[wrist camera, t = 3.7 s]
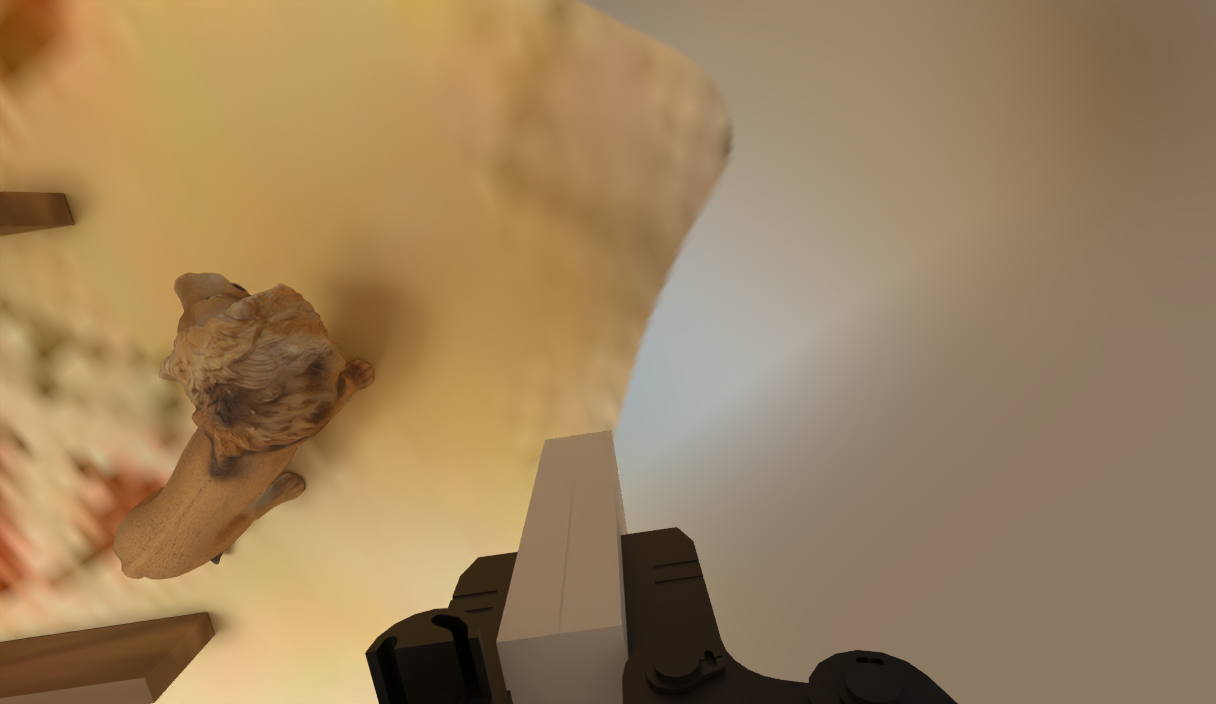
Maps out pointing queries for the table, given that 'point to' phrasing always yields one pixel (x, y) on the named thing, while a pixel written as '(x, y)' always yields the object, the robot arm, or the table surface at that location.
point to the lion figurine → (236, 419)
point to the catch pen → (104, 657)
